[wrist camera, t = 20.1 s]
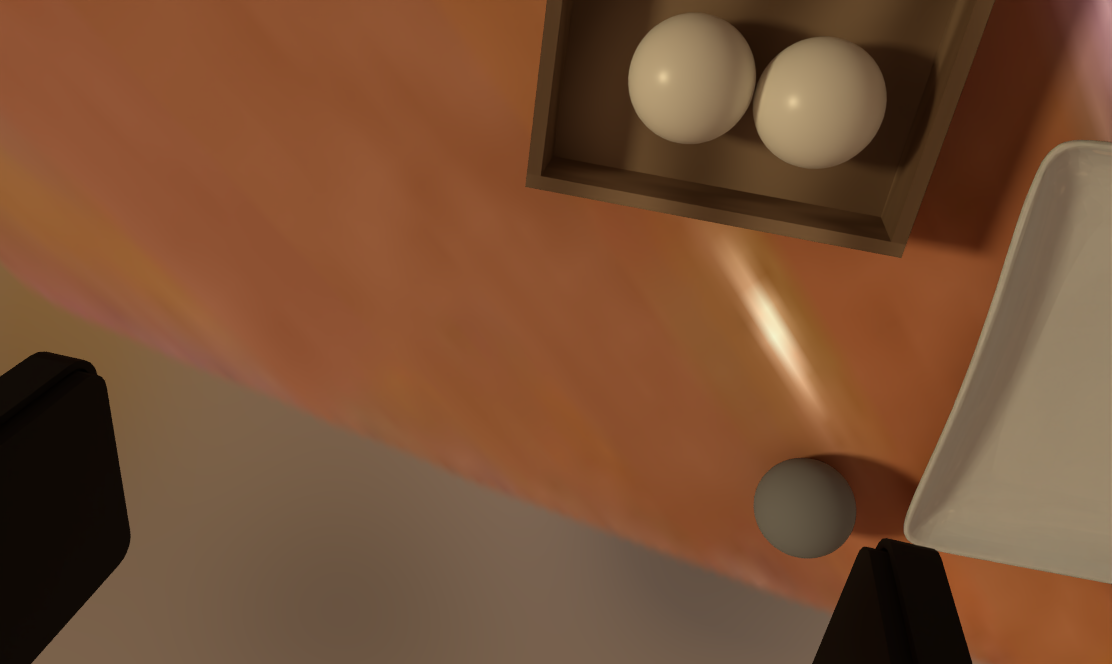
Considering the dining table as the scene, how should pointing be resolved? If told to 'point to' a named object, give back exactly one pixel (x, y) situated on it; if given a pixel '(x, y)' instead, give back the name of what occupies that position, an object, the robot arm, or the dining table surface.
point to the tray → (740, 155)
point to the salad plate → (1037, 392)
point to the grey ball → (805, 508)
